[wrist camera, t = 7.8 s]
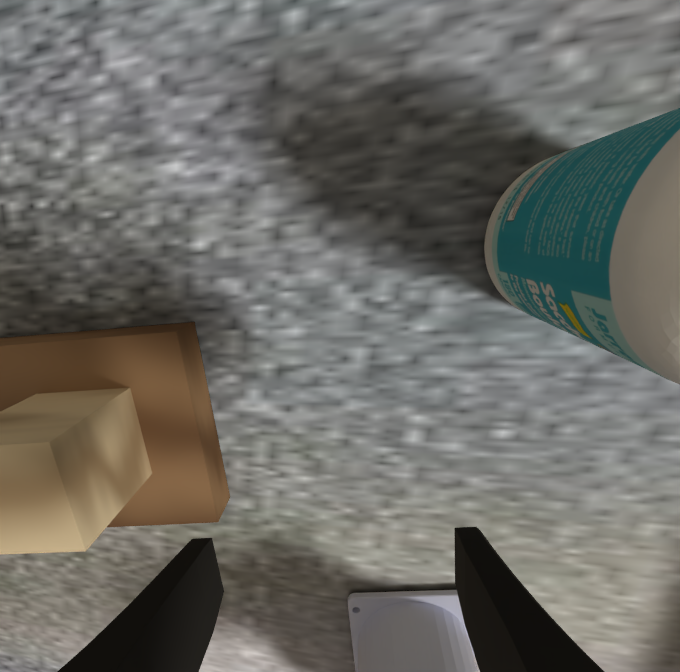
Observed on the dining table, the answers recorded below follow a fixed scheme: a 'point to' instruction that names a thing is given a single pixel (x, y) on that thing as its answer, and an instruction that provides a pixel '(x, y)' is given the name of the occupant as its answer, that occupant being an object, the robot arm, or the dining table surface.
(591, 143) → the pill bottle
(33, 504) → the maple cube
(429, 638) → the robot arm
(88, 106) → the dining table surface
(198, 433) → the walnut stand
